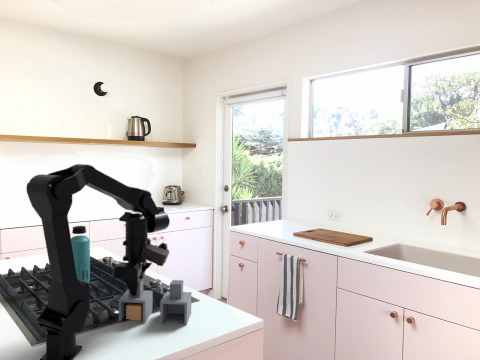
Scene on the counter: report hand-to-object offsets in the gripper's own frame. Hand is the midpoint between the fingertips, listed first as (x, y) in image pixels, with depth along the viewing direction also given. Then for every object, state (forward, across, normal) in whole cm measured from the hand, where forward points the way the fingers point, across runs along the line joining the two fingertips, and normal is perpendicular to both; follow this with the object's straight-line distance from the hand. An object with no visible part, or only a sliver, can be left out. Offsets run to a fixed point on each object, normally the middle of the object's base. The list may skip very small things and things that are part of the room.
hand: (136, 293), depth 98 cm
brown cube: (+7, 0, 0) cm, 7 cm away
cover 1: (+6, 0, 0) cm, 6 cm away
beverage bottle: (+7, +20, +25) cm, 33 cm away
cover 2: (+6, 0, -11) cm, 13 cm away
